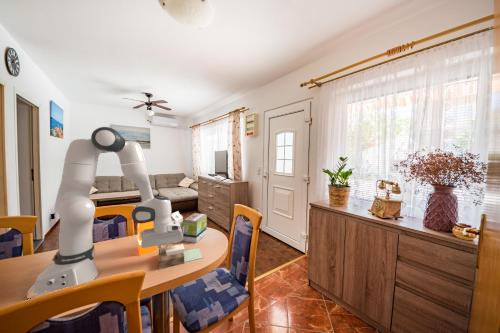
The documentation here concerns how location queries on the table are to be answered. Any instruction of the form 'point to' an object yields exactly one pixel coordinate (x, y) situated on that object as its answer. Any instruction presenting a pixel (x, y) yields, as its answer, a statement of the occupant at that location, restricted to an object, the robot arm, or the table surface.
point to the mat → (192, 255)
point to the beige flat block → (175, 249)
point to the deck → (170, 260)
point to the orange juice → (141, 228)
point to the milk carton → (177, 219)
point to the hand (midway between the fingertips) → (163, 251)
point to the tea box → (195, 227)
